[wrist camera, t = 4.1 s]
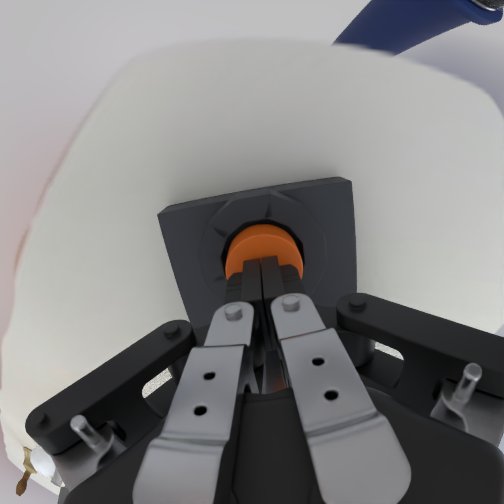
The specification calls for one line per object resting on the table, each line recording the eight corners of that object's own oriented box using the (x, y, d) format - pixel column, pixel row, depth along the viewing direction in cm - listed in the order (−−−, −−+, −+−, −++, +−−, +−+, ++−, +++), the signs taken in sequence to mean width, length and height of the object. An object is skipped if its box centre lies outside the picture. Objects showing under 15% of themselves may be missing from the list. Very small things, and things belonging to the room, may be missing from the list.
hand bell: (41, 463, 42) (26, 500, 28) (20, 445, 40) (2, 483, 25) (52, 465, 41) (36, 506, 26) (29, 447, 38) (10, 489, 23)
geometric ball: (59, 445, 38) (50, 468, 34) (30, 434, 33) (22, 458, 29) (72, 463, 34) (63, 488, 30) (41, 453, 29) (32, 479, 25)
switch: (221, 230, 14) (217, 242, 12) (293, 218, 14) (298, 228, 12) (235, 292, 15) (233, 309, 14) (301, 281, 15) (306, 298, 13)
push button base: (166, 202, 17) (144, 218, 13) (339, 172, 16) (363, 181, 13) (225, 390, 23) (222, 424, 20) (345, 372, 23) (356, 405, 19)
